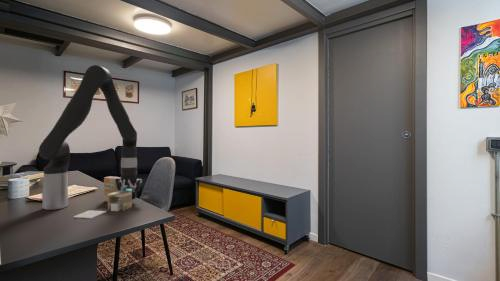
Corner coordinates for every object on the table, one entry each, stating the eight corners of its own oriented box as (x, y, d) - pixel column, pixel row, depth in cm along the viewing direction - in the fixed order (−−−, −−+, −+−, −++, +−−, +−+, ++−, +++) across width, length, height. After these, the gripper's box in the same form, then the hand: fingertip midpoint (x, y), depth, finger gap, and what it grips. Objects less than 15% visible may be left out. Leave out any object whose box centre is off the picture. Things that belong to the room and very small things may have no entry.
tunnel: (107, 209, 117) (107, 194, 116) (116, 206, 123) (116, 191, 122) (124, 210, 116) (123, 195, 115) (131, 206, 121) (131, 192, 121)
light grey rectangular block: (110, 211, 115) (110, 203, 115) (123, 205, 124) (123, 198, 124) (117, 211, 115) (117, 204, 115) (129, 206, 124) (129, 199, 124)
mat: (72, 217, 106) (72, 216, 106) (89, 211, 115) (89, 210, 115) (91, 218, 105) (91, 217, 105) (106, 212, 113) (106, 211, 113)
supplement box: (103, 201, 131) (103, 177, 131) (111, 199, 135) (111, 175, 135) (114, 203, 128) (114, 178, 127) (122, 200, 132) (122, 177, 132)
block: (121, 200, 125) (121, 190, 125) (127, 197, 130) (127, 188, 129) (130, 201, 124) (130, 191, 124) (136, 198, 129) (136, 189, 129)
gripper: (111, 166, 123) (111, 199, 124) (137, 167, 122) (137, 201, 122) (121, 164, 131) (120, 196, 131) (146, 165, 129) (145, 197, 130)
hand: (128, 198), depth 127 cm, fingers closed on block, 5 cm apart
